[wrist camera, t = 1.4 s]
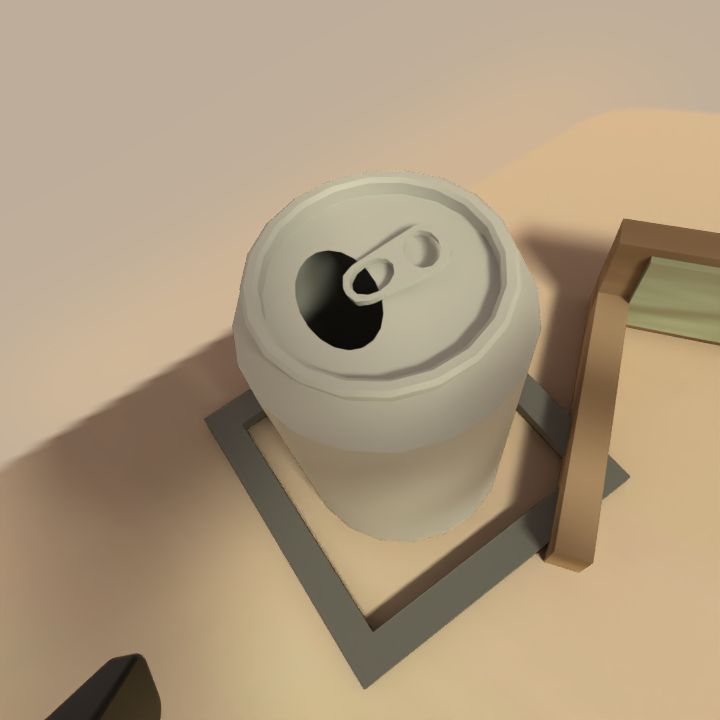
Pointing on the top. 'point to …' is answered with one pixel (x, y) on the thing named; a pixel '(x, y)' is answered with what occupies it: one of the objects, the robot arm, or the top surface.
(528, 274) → the can
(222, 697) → the top surface
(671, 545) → the top surface
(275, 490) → the holster frame
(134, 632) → the top surface
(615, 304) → the dock
